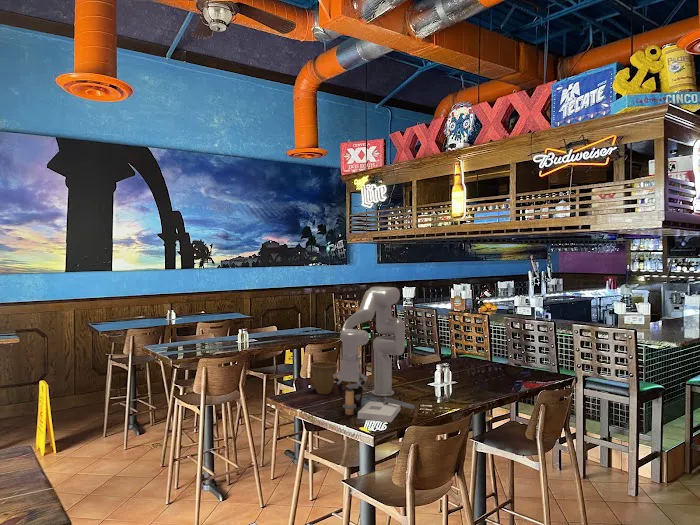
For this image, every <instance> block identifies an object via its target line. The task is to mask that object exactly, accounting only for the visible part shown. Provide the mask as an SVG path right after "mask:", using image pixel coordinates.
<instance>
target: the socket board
mask: <svg viewBox="0 0 700 525" xmlns="http://www.w3.org/2000/svg"><path fill="white" fill-rule="evenodd" d="M400 411H401V406H400V405H396V404H393V403H389V402H388V404H383V401H382V402H380V401H372V400H371V401H368V402H367V403H366V404H364V406H362V408H361V409H360V410H358V411H357V419H358V420H365V421H374V420H375V421H376V422H382V423H383V422H384V423H392V422H393V420H395V418H396V417H397V416H398V414H399V413H401V412H400ZM375 421H374V422H375Z"/></svg>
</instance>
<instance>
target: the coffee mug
mask: <svg viewBox="0 0 700 525" xmlns="http://www.w3.org/2000/svg"><path fill="white" fill-rule="evenodd" d="M358 386H359V385H358V383H355V384H353V383H351V384H347V385H346V389H342V392H341V393H339V394H340V395H339V396H340V397H341V398H342V399H343V400H345V397H344V396H343V395H342V394H343V392H346V390H348V388H352V390H353V391H354V404H356V408H355V409H357V408H361V407H362V400H363V392H364V385H362V393H361V394H360V395H358Z"/></svg>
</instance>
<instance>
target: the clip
mask: <svg viewBox="0 0 700 525" xmlns="http://www.w3.org/2000/svg"><path fill="white" fill-rule="evenodd" d="M382 403H383V404H388V403H392V404H396V405H400V407H403V408H406V409H411V410H415V408H416V406H415V404H412V403H410V402H409V403H408V402H404V401H401V400H398V399H395V398H391V397H389V396H383V401H382Z"/></svg>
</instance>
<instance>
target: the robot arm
mask: <svg viewBox="0 0 700 525" xmlns="http://www.w3.org/2000/svg"><path fill="white" fill-rule="evenodd" d="M400 292H401V291H400V290H399V289H398V288H397V287H396V286H395V287H393V286H391V287H390V286H371V287H370V288H369V289H367V290H366V291H365V293H364V295H363V297H362V300H361V303H360V304H359V308H358V310H357V311H356V312H354V313H353V314H352V315H351V316H349V317H348V318H347V319H346V320H345V322H343V326H342V328H341V330H340V336H339V338H340V342H342V353H341V354H342V359H341V361H340V366H339V371H337V373H335V374H333V377H334V379H335V381H334V382H336V384H337V387H338V388H337V391H338V394H340V393H341V392H342V390H343V383H342V382H350V383H356V384H358V385H359V386H358V395H360V394H361V393H362V386H364V384H365V383H367V380H368V378H369V377H368V376H366V375H365V373H364V374H363V373H362V366H361V362H360V359H361V358H362V357H361V355H359V346H365V345H367V344H368V343H369V340H370V334H369V333H368V331H366V330H365V329H364V330H363V329H355V327H356V326H357V325H360V324H363V323H366V322H369V321H371V320H372V319H374V317H375V328H376V332H377V333H378V334H381V336H376V337H375V338H374V340H373V342H372V347H373V348H372V349H373V353H374V354H373V355H374V377H373V378H374V380H373V382H374V385H373V386H374V387H373V388H374V389H372V390H371V394H372V395H373V396H378V397H390V396H393V395H394V394H395V391H394V390H393V389H392V383H393V382H392V379H393V377H392V375H393V374H392V373H393V372H392V371H393V363H392V362H393V361H392V359H391V357H390V355H391V356H393V355H394V356H402V355H403V354H404V353H405V347H406V339H405V338H406V325H405V321H404V320H403V319H402V318H400V317H393V316H392V314H393V313H392V306H391V305H394V304H397V303H398V301H399V300H400V296H401V293H400ZM375 315H376V316H375ZM382 335H386V336H382ZM387 335H388V336H387ZM393 336H394V337H393ZM338 377H339V378H338ZM361 379H363V381H362V380H361ZM342 393H343V392H342ZM362 394H363V393H362Z"/></svg>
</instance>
